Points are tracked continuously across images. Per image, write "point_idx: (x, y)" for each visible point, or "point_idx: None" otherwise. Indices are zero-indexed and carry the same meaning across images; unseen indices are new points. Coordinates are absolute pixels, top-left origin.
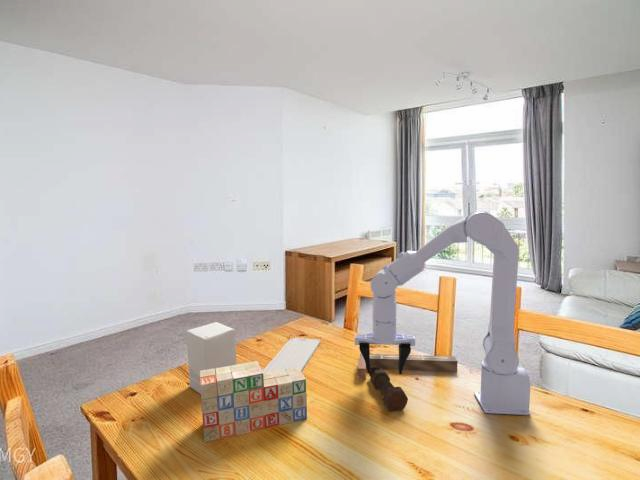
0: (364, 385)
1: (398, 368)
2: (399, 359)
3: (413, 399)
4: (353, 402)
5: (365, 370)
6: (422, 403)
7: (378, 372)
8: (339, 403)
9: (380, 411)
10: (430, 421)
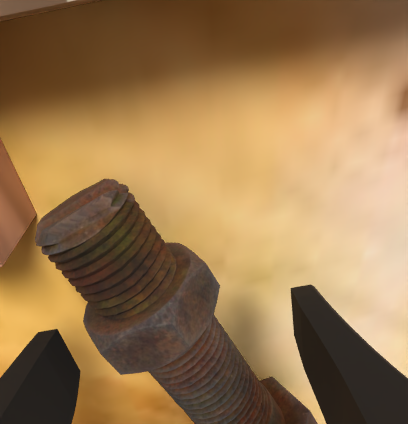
0: (56, 275)
1: (297, 311)
2: (338, 405)
3: None
4: None
5: (6, 256)
6: (373, 337)
7: (138, 366)
8: None
9: None
10: None
